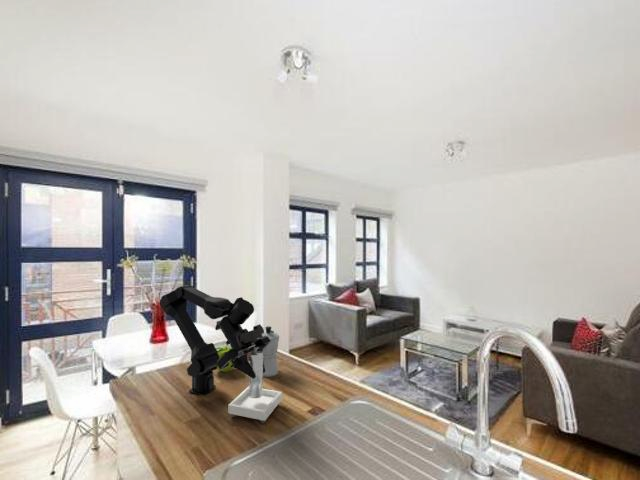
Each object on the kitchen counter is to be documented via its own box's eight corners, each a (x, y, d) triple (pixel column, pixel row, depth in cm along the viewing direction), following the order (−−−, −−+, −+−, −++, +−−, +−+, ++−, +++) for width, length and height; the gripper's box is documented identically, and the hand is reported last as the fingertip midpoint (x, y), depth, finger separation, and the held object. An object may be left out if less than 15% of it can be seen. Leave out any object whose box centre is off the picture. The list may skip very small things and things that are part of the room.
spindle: (248, 398, 95) (249, 356, 95) (249, 392, 99) (250, 351, 98) (262, 398, 95) (262, 355, 95) (262, 391, 99) (263, 350, 99)
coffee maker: (276, 379, 118) (277, 332, 118) (253, 379, 118) (253, 331, 118) (281, 363, 133) (282, 321, 133) (261, 362, 133) (261, 320, 133)
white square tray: (228, 418, 93) (228, 404, 93) (248, 398, 105) (248, 386, 105) (264, 426, 90) (264, 412, 90) (281, 404, 101) (281, 391, 101)
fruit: (234, 375, 121) (234, 350, 121) (210, 375, 121) (210, 349, 121) (240, 365, 130) (241, 341, 130) (218, 365, 130) (218, 341, 130)
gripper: (224, 325, 90) (252, 372, 85) (267, 311, 107) (292, 351, 101) (205, 347, 95) (231, 393, 89) (249, 330, 111) (273, 369, 105)
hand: (259, 375), depth 96 cm, fingers closed on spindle, 4 cm apart
